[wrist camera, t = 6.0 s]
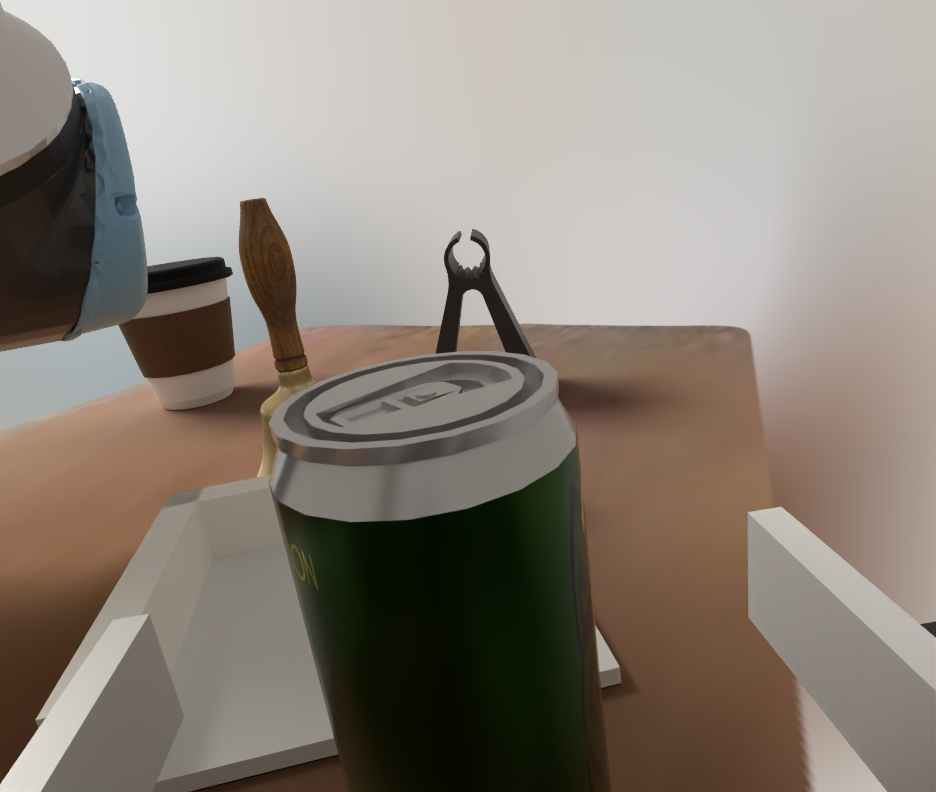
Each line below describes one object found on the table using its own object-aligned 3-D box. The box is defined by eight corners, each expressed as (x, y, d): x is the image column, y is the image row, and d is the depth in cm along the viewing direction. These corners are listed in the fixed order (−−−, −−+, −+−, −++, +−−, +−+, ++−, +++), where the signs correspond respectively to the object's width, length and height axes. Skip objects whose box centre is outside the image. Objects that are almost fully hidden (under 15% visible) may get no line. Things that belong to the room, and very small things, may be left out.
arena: (77, 819, 18) (35, 720, 17) (190, 559, 31) (170, 494, 30) (621, 682, 20) (613, 586, 19) (512, 492, 33) (504, 428, 32)
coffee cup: (158, 429, 53) (113, 280, 49) (118, 408, 61) (77, 278, 57) (281, 388, 59) (249, 254, 56) (230, 374, 67) (199, 256, 64)
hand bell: (216, 520, 35) (129, 216, 30) (293, 456, 43) (233, 204, 38) (356, 521, 33) (285, 191, 28) (411, 453, 40) (363, 184, 36)
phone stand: (544, 378, 51) (528, 221, 48) (551, 403, 46) (533, 227, 42) (431, 392, 52) (406, 238, 48) (424, 418, 46) (395, 246, 43)
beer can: (472, 1112, 11) (334, 494, 8) (344, 875, 16) (216, 406, 12) (674, 901, 14) (642, 372, 10) (517, 749, 18) (456, 336, 15)
